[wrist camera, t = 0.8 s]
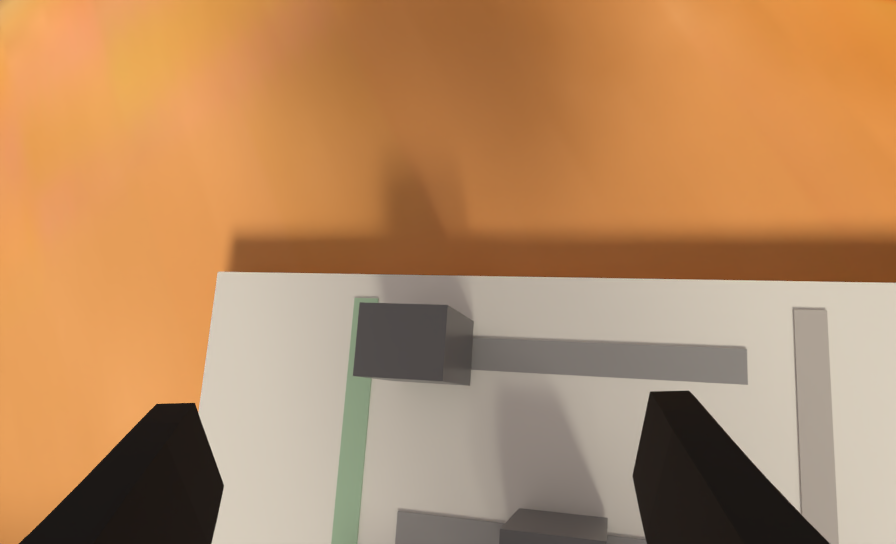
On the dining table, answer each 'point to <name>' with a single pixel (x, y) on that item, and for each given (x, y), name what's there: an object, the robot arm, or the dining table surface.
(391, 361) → the handle
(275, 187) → the dining table surface
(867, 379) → the breaker board
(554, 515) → the dark gray block
